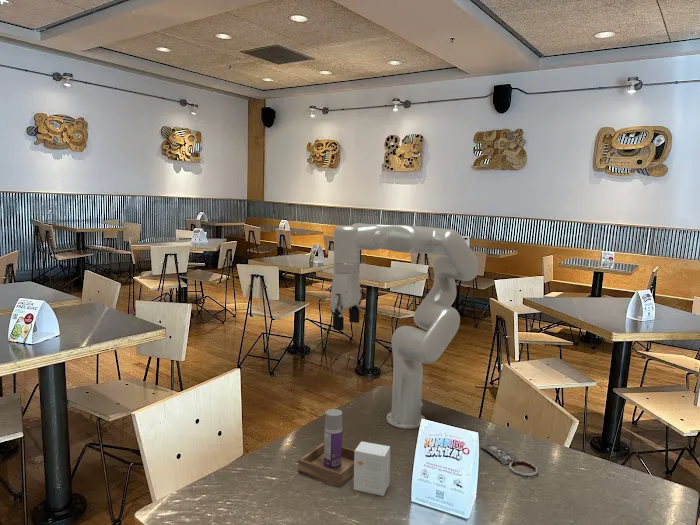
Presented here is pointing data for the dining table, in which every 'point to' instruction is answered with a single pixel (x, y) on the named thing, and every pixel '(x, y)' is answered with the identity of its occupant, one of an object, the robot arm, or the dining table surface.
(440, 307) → the robot arm
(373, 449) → the small box
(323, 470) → the tray
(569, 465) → the dining table surface
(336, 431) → the container
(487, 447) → the keychain
